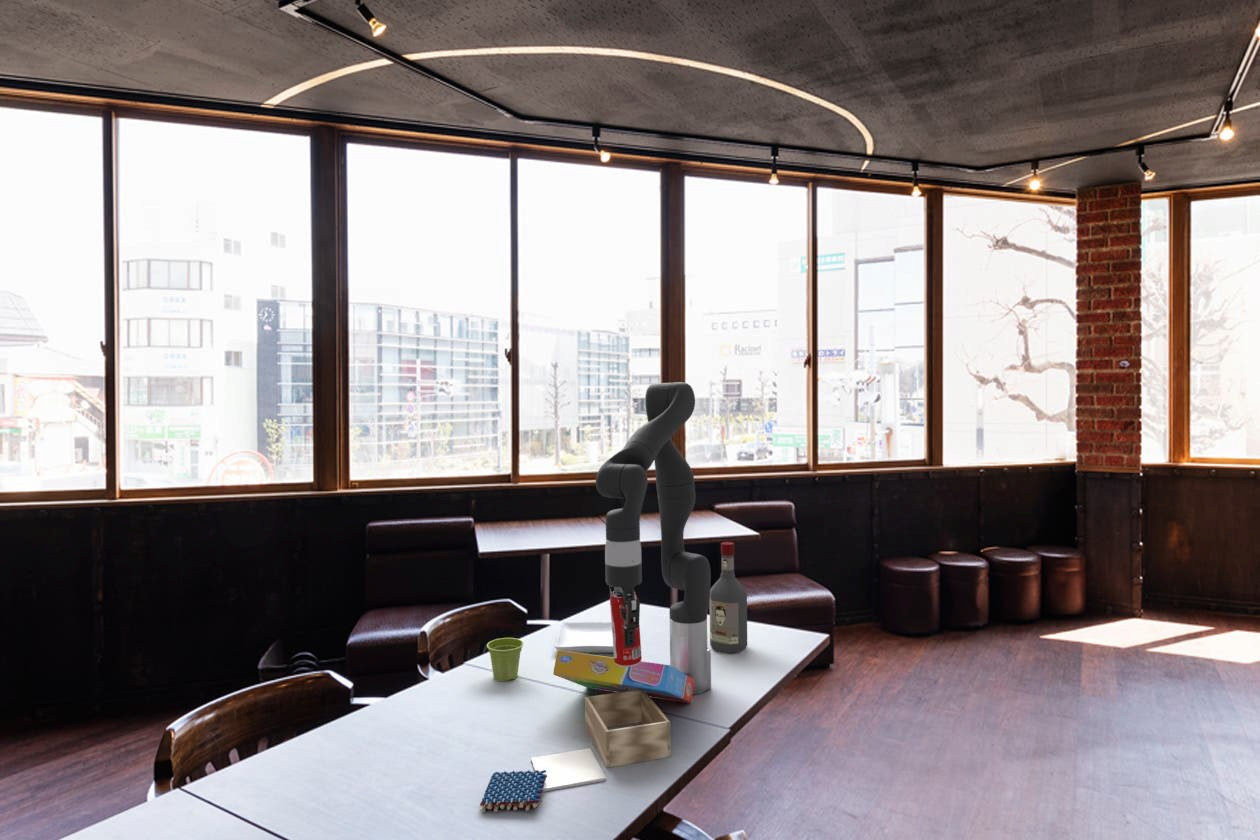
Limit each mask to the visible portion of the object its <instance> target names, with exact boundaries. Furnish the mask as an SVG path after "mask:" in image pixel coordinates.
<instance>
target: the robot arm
mask: <svg viewBox="0 0 1260 840" xmlns="http://www.w3.org/2000/svg"><path fill="white" fill-rule="evenodd" d="M644 398H645V400H644V402H645V411H646V418H647V423H645V424H644V425H642V426H641V427H639V428H638V429H636V430H635V432H634V433H632V434H631V436H630V437H629V439H628V440H627V442H626V443H625V445H624V447H623V448H622V449H621V450H619V451H617V452H616V453H615V454H614V455H612V456H611V457H610V458H608V459H607V460H606V461H605V462H604V463H603V464H602V465H601V466H600V468H599V469H598V471H597V474H596V477H595V486H596V489H597V492H598V493H599V494H600V495H601V496H602V497H605V498H607V499H609V498H610V499H625V503H624V505H623V507H622V508H617V509H616V508H615V509H612V510H609V511H608V512H607V513H606V515H605V547H604V561H605V562H604V566H605V569H604V570H605V571H604V572H605V583H606V585H607V586H609V599H610V598H611V593H612V592H613V591H616V592H613V593H614V594H615V593H618V594H619V595H616V596H617V597H622V600H623V606H624V607H625V608H626V613H624V612H623V608H622V606H621V605H620V617H621V618H622V620H623V628H624V646H625V647H634V646H635V628H639V626H640V617H641V614H640V611H641V609H640V608H641V607H640V606H641V601H640V599H636V596H637V593H636V592H635V593H636V594H635V593H634V591H635V587H636V586H639V585H641V584H642V582H643V569H642V568H643V566H642V565H643V564H642V562H643V561H642V560H643V559H642V544H641V529H640V528H641V525H640V524H641V523H640V522H641V521H640V519H641V514H642V510H643V504H644V500H645V496H646V492H647V489H648V482H649V481H648V475H647V471H649V470H650V468H651V466H652V465H653V463H654V470H655V483H656V492H657V493H656V495H657V500H658V501H657V502H658V510H659V521H660V539H661V540H660V541H661V542H660V545H661V549H660V552H661V559H660V560H661V561H660V562H661V565H660V566H661V574H662V578H663V580H664V581H663V582H664V583H665V585H667V586H668V587H670V588H671V589H672V588H673V589H676V590H680V591H684V595H683V596H684V597H683V601H678V602H676V603H673V604H671V606H670V607H669V661H670V662H669V663H670V664H669V665H670V666H672V667H673V668H675V669H677V670H678V671H680V672H682V673H684V674H685V675H687V676H689V677H690V678H692V679H694V687H693V694H692V695H698V694H702V693H704V692H707V691H708V690H711V689H712V664H711V663H712V662H711V661H712V656H711V655H712V653H711V650H710V649H709V648H708V611H709V609H710V589H711V579H712V578H711V577H712V575H711V572H712V571H711V566H710V562H709V559H708V558H707V557H706V556H705V555H702V554H698V553H692V552H688V551H687V552H686V550H685V544H684V540H685V539H684V534H685V533H684V531H685V528H686V524H687V523H688V520H689V517H690V516H691V513H692V511H693V510H694V507H695V504H696V485H695V478H694V477H695V475H694V472H693V469H692V468H691V466H690V463H688V461H687V460H686V459H685V457H684V455H682V453H681V452H680V451H679V449H678V448H677V446H676V445H675V442H674V441H673V439H672V437H673V436H674V434H676V433H677V431H678V430H680V429H681V428H682V426H683V425H684V424H686V422H687V421H689V419H690V418H691V417H692V415H693V414H694V411H695V408H696V396H695V392H694V389H693V388H692V386H691V385H690V384H689V383H688V382H687V383H686V382H684V381H683V382H682V381H677V382H675V381H674V382H663V383H662V382H660V383H651V384H650V385H648V386H647V389H646V392H645V397H644ZM634 594H635V595H634ZM618 602H619V600H618ZM630 618H632V622H630Z"/></svg>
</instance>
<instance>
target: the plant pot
mask: <svg viewBox="0 0 1260 840" xmlns="http://www.w3.org/2000/svg"><path fill="white" fill-rule="evenodd" d="M523 646H524V641H523V640H522V639H520V638H515V637H503V638H496V639H493V640H491V641H489V642H488V643H486V647H487V650H488V652H489V655H490V661H491V669H492V676H493V678H494V679H495V681H497V682H499V681H500V682H508V681H510V680H515V679H516V678H517V677H518V674H519V668H520V667H519V665H520V657H521V652H522V648H523Z"/></svg>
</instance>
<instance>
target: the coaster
mask: <svg viewBox="0 0 1260 840" xmlns="http://www.w3.org/2000/svg"><path fill="white" fill-rule="evenodd" d="M530 762H531V764H532V767H533V771H536V770H538V771H540V770H541V771H543V770H546V773H544V774H546V775H547V777H546V781H545V784H544V786H543V788H542V789H543V792H549V791H554V790H561V789H566V788H571V787H576V786H582V785H587V784H593V783H597V782H598V783H599V782H604V781H606V779H607V778H606V776H605V774H604V772H603V770H602V768H601V766H600V765H599V763H598V761H597V759H596V757H595V755H594V754H593V751H592V750H591V748H585V749H584V748H583V749H578V750H571V751H570V750H569V751H565V752H559V753H554V754H553V753H552V754H548V755H547V754H546V755H541V756H533V757H530ZM542 774H543V773H542ZM543 792H542V793H543Z"/></svg>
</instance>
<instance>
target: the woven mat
mask: <svg viewBox="0 0 1260 840" xmlns="http://www.w3.org/2000/svg"><path fill="white" fill-rule="evenodd" d="M542 773H543V774H542ZM544 773H546V770H543V771H541V770H540V771H538V770H536V771H535V770H533V771H531V770H530V769H528V770H527V771H526V770H524V771H523V770H519V771H515V770H512V771H509V772H507V770H505V771H495V772H494V773H492V775H491V777H490V779H489V782H488V784H487V786H486V789H485V791H484V793H483V795H484V796H483V797H482V798H481V802H480V803H479V806H480V807H481V809H480V812H481V813H482V814H483V813H485V812H486V810H492V809H493V808H494V809H493V812H495V813H497V812H498V810H499V808H500V809H501V810H504V809H505V808H506V810H507V811H511V807H512V806H513V811H517V810H518V808H520V809H523V808H524V807H525V811H526V812H527V811H530V808H531V805H532V807H533V808H534V809H536V808H537V807H538V805H539V804H540V803H541V798H542V793H543V789H542V788H543V786H544V784H545V781H546V777H547V775H546V774H544Z"/></svg>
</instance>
